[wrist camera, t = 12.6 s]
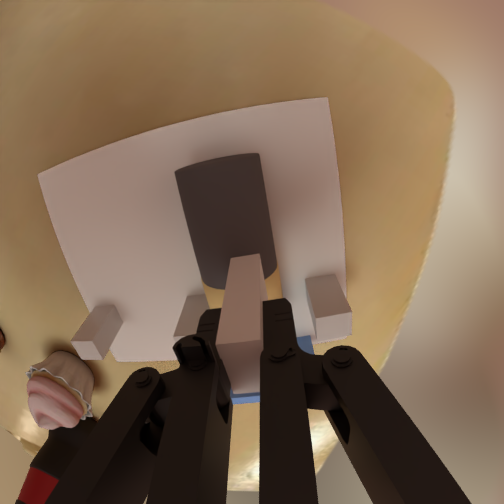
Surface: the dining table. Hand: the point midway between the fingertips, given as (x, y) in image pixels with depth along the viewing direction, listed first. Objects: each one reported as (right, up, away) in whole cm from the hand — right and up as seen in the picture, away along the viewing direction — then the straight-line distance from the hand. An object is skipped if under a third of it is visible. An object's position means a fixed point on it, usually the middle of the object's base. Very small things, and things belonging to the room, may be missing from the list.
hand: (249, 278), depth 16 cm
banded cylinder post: (0, +2, +5) cm, 6 cm away
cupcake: (-22, -13, +14) cm, 29 cm away
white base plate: (-4, +1, +7) cm, 8 cm away
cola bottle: (-27, -25, +19) cm, 41 cm away
